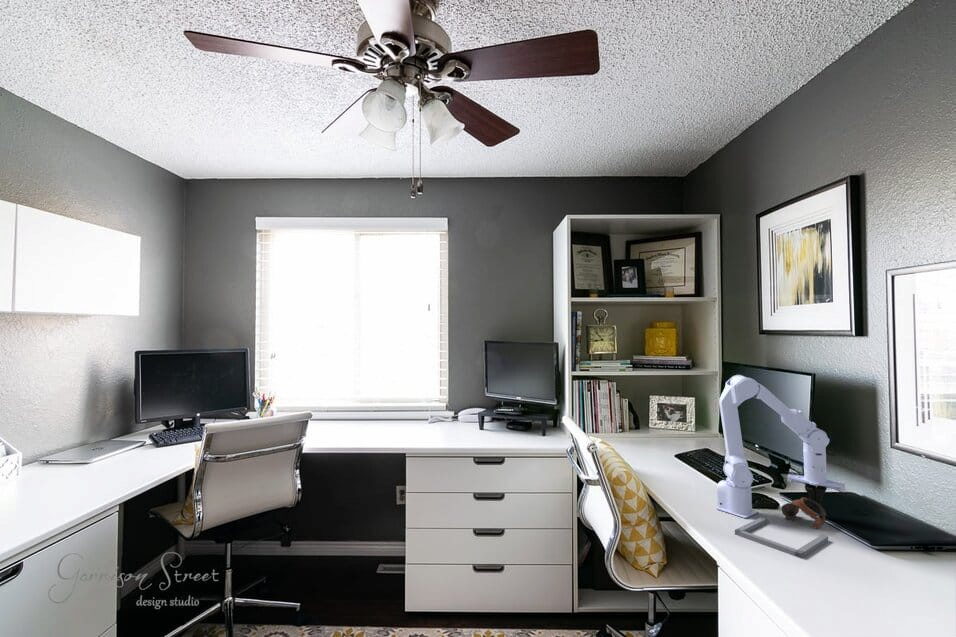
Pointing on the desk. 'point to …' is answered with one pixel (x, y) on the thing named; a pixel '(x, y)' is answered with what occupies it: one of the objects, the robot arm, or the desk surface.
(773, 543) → the frame
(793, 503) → the orange curved piece
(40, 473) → the desk surface
